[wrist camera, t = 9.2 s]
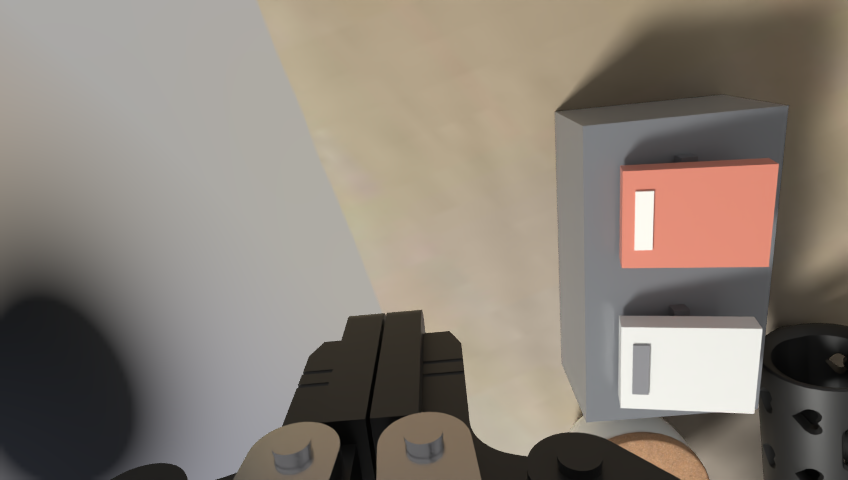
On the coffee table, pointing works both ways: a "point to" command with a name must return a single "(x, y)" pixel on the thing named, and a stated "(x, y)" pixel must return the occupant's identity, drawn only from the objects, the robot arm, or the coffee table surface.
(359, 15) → the coffee table surface
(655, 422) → the lidded jar
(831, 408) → the muzzle brake
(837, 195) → the coffee table surface
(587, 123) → the switch box
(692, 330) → the white block
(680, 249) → the labelled salmon box
